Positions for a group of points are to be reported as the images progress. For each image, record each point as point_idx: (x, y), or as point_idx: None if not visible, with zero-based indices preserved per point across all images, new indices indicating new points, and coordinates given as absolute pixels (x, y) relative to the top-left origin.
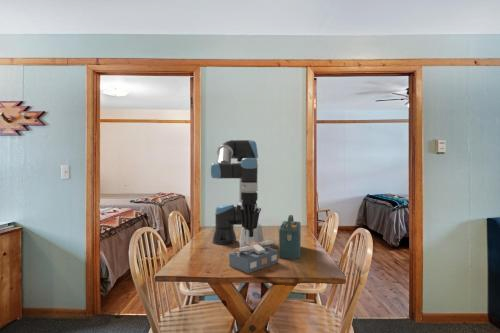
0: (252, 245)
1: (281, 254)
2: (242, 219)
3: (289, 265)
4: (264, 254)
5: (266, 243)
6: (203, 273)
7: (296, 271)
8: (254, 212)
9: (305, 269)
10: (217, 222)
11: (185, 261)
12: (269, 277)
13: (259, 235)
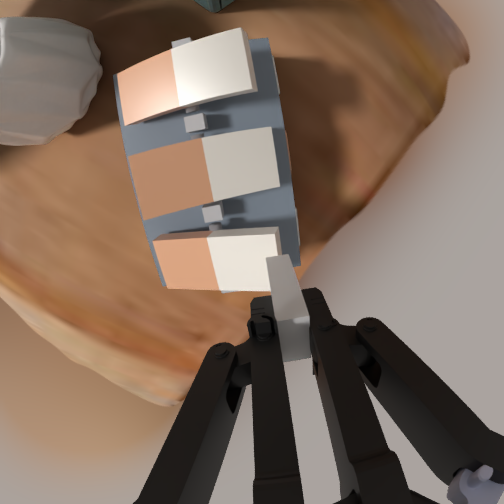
0: (269, 235)
1: (222, 3)
2: (226, 439)
3: (323, 45)
4: (286, 146)
5: (245, 91)
6: (203, 350)
7: (387, 79)
8: (448, 475)
9: (388, 42)
10: None
11: (87, 343)
12: (369, 200)
13: (54, 44)
